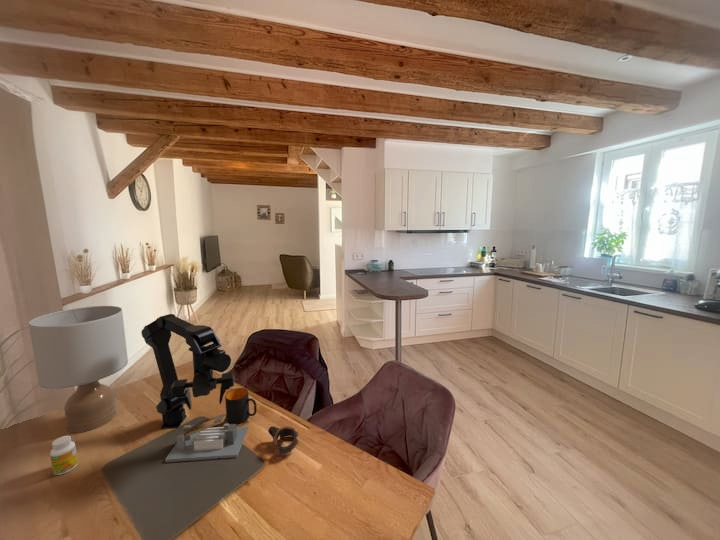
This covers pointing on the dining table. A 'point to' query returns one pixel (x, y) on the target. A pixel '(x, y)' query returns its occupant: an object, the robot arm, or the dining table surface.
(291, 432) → the vr controller
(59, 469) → the supplement bottle
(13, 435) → the dining table surface
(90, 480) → the dining table surface
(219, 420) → the strap
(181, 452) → the board
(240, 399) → the mug
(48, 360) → the lamp
